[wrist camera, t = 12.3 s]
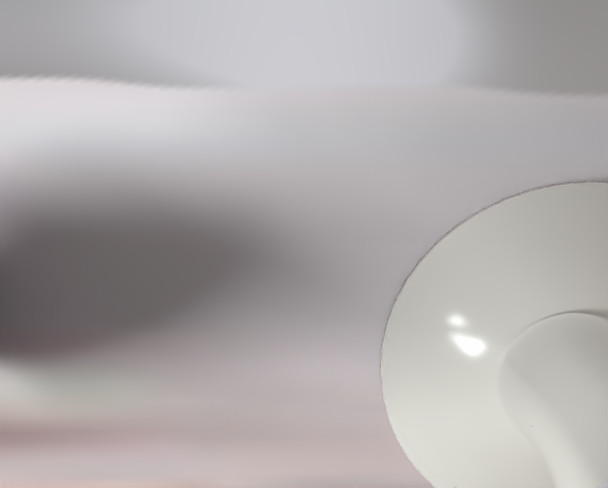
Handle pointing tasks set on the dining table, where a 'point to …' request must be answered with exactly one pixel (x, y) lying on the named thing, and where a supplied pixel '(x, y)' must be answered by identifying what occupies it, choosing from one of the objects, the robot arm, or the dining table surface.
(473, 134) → the dining table surface
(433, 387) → the white flat disc
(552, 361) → the steel cup
